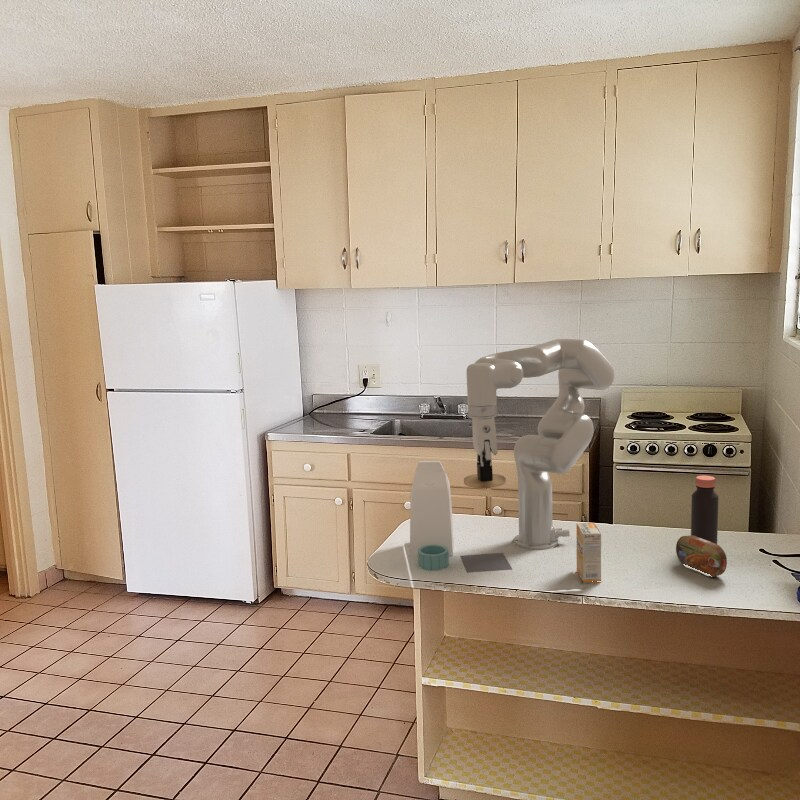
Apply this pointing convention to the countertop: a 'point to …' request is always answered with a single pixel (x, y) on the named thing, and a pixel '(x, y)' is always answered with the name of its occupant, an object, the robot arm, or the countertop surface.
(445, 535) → the milk
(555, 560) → the countertop surface
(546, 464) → the robot arm
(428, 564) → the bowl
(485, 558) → the mat
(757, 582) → the countertop surface
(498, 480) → the lid
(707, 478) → the bottle
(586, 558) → the supplement box
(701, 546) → the tin
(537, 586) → the countertop surface
